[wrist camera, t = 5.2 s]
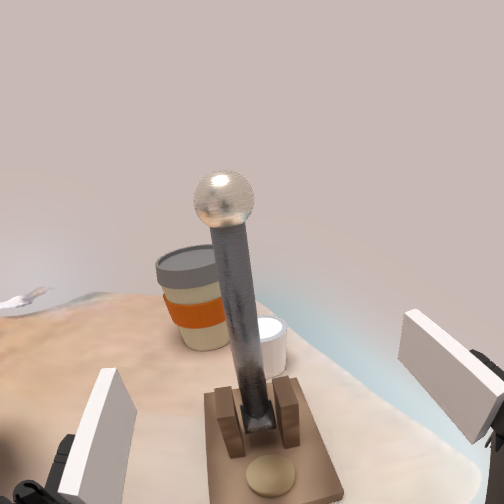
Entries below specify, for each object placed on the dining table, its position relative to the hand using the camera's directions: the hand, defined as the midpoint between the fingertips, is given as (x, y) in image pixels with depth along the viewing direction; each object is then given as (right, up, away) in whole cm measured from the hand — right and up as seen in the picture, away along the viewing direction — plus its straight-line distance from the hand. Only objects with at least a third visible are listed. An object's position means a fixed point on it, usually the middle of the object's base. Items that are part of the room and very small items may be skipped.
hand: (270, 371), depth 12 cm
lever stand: (+1, -17, +16) cm, 23 cm away
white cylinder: (+1, -12, +31) cm, 33 cm away
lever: (0, -12, +15) cm, 19 cm away
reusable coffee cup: (-8, -10, +40) cm, 42 cm away
